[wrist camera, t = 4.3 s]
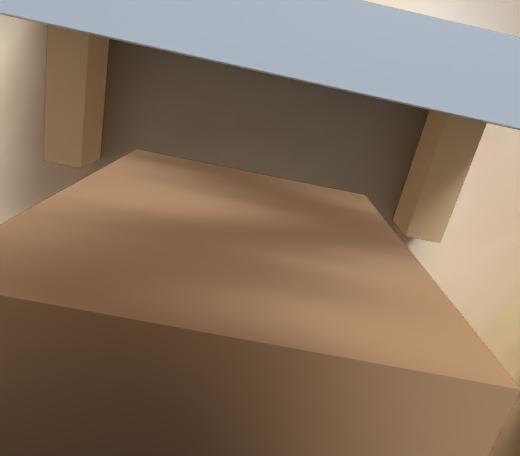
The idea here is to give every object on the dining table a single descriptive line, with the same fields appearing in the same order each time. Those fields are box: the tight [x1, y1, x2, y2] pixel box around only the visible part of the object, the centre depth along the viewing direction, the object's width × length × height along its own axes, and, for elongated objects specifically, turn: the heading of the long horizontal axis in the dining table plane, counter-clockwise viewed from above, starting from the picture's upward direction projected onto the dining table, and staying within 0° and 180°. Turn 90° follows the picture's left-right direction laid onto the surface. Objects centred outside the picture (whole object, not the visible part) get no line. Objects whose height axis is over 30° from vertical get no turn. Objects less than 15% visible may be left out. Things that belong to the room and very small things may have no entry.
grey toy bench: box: [0, 0, 520, 243], centre depth 13 cm, size 18×6×10 cm, turn 78°
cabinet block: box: [0, 149, 520, 456], centre depth 7 cm, size 5×7×6 cm
